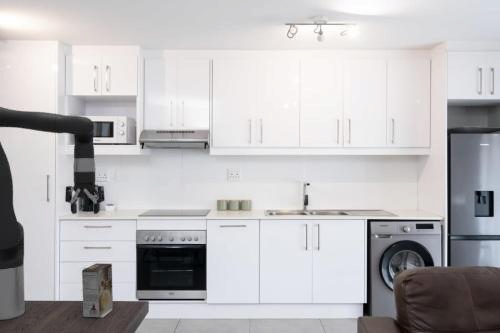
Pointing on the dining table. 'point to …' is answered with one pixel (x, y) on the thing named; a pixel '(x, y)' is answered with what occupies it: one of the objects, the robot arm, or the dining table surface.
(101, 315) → the coaster
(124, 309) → the dining table surface
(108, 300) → the coffee box
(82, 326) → the dining table surface
